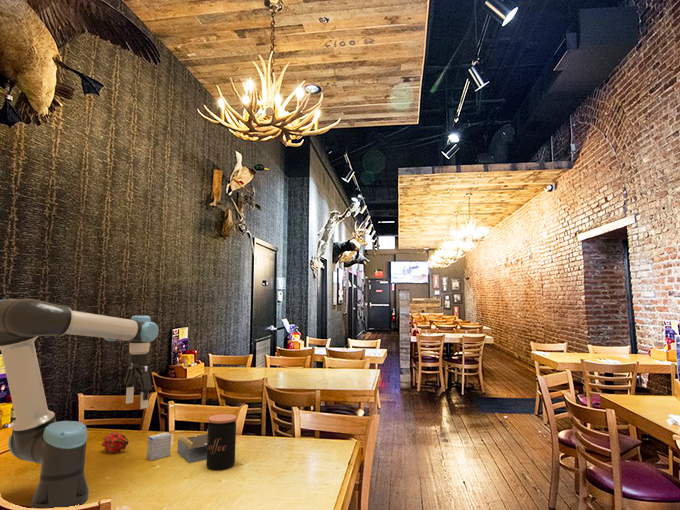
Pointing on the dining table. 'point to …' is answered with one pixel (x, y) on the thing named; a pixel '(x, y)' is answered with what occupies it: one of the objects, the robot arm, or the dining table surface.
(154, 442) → the medicine box
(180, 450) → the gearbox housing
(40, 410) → the robot arm
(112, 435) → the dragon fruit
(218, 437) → the coffee jar
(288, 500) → the dining table surface
